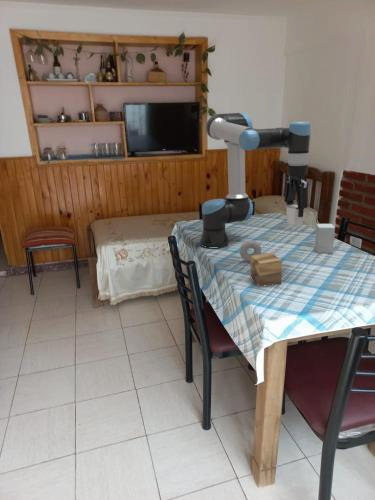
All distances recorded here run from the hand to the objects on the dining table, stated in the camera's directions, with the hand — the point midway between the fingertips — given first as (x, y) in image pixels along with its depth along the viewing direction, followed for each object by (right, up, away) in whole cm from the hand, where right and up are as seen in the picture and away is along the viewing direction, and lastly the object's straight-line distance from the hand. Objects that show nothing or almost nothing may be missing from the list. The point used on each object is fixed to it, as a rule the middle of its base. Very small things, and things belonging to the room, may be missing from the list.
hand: (294, 222), depth 142 cm
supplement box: (+22, -12, +27) cm, 37 cm away
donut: (-14, -17, +19) cm, 29 cm away
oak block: (-13, -19, -4) cm, 23 cm away
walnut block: (-12, -24, -2) cm, 27 cm away
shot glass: (0, -1, 0) cm, 1 cm away
